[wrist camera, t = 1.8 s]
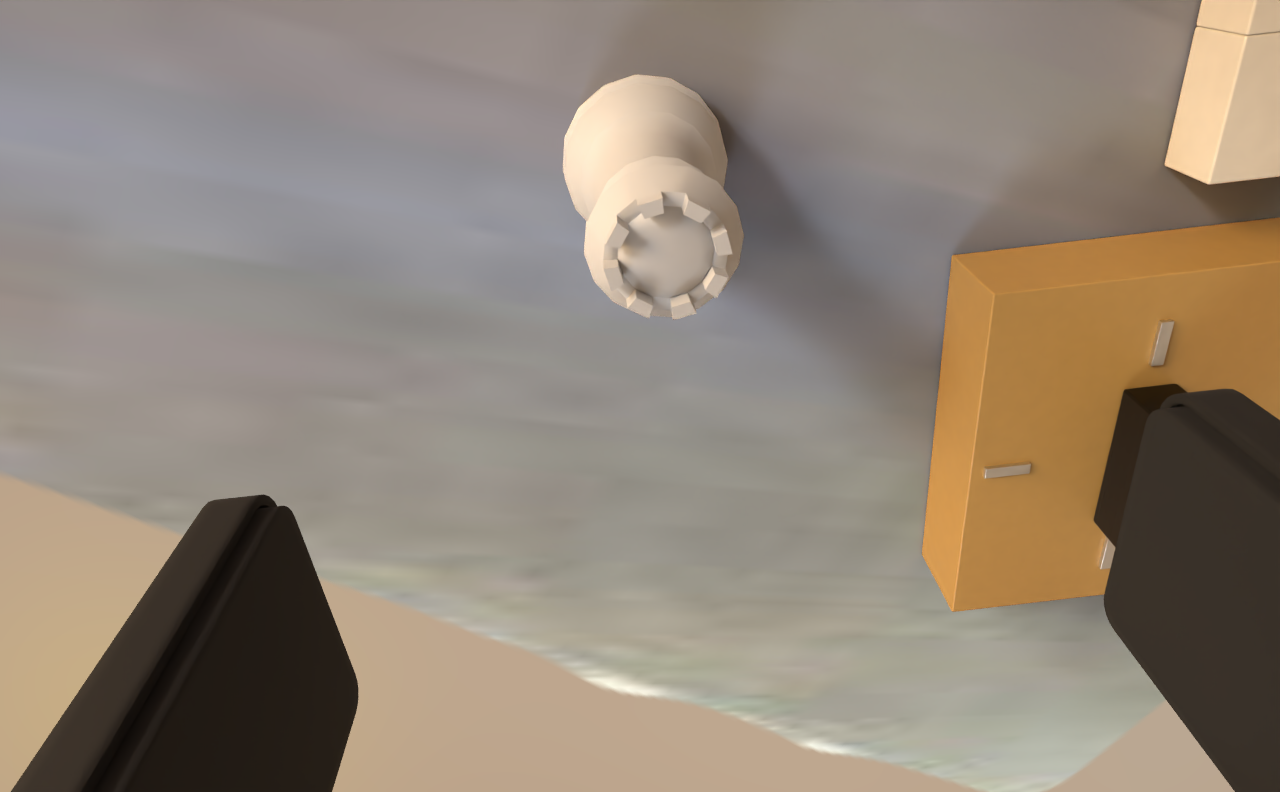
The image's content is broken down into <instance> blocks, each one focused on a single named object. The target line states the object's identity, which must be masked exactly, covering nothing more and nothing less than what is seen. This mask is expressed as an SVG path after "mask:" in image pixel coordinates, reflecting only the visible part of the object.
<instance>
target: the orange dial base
mask: <svg viewBox="0 0 1280 792" xmlns="http://www.w3.org/2000/svg"><path fill="white" fill-rule="evenodd" d="M1165 384H1178V385H1179V386H1181V387H1182V388H1183V389H1184V390H1186V391H1187V392H1197V391H1206V390H1216V389H1234V390H1236V391H1238V392H1240V393H1242V394H1244V395H1245V396H1246V397H1248V398H1249V399H1251V400H1252V401H1253V402H1255V403H1256V404H1258V405H1259V406H1260V407H1262V408H1263V409H1265V410H1266V411H1268V412H1269V413H1270V414H1272V415H1273V416H1275V417H1276V418H1277V419H1279V420H1280V218H1271V219H1262V220H1253V221H1245V222H1236V223H1227V224H1219V225H1210V226H1201V227H1193V228H1184V229H1175V230H1167V231H1158V232H1149V233H1141V234H1132V235H1123V236H1115V237H1106V238H1097V239H1089V240H1080V241H1071V242H1063V243H1054V244H1045V245H1037V246H1028V247H1019V248H1011V249H1002V250H993V251H985V252H976V253H967V254H959V255H953V256H952V260H951V270H950V280H949V290H948V300H947V310H946V320H945V330H944V340H943V350H942V360H941V370H940V380H939V390H938V400H937V409H936V419H935V429H934V439H933V449H932V459H931V469H930V479H929V489H928V499H927V509H926V519H925V529H924V539H923V549H922V555H923V557H924V559H925V561H926V563H927V565H928V567H929V569H930V570H931V572H932V574H933V576H934V578H935V580H936V582H937V584H938V586H939V588H940V590H941V591H942V593H943V595H944V597H945V599H946V601H947V603H948V605H949V607H950V609H951V610H952V612H955V611H964V610H973V609H982V608H990V607H999V606H1008V605H1016V604H1025V603H1034V602H1042V601H1051V600H1060V599H1068V598H1077V597H1086V596H1094V595H1103V594H1104V593H1105V589H1106V585H1107V580H1108V576H1109V572H1110V568H1111V564H1112V560H1113V556H1114V552H1115V547H1114V545H1113V544H1112V543H1111V542H1110V541H1109V539H1108V538H1107V537H1106V536H1105V535H1104V533H1103V532H1102V531H1101V530H1100V529H1099V527H1098V526H1097V525H1096V524H1095V523H1094V520H1093V519H1094V515H1095V510H1096V506H1097V502H1098V497H1099V493H1100V489H1101V485H1102V480H1103V476H1104V472H1105V467H1106V463H1107V459H1108V455H1109V450H1110V446H1111V442H1112V438H1113V433H1114V429H1115V425H1116V420H1117V416H1118V412H1119V408H1120V403H1121V399H1122V395H1123V391H1124V390H1125V389H1131V388H1139V387H1148V386H1157V385H1165Z"/></svg>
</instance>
